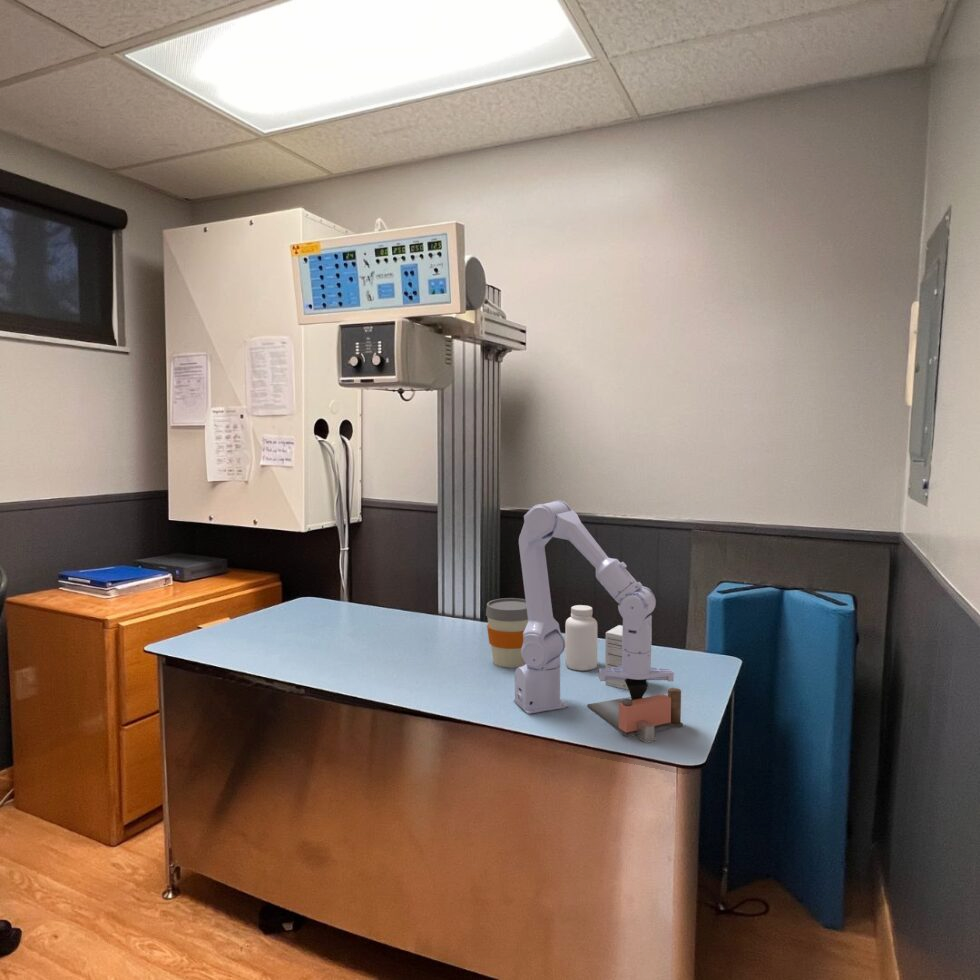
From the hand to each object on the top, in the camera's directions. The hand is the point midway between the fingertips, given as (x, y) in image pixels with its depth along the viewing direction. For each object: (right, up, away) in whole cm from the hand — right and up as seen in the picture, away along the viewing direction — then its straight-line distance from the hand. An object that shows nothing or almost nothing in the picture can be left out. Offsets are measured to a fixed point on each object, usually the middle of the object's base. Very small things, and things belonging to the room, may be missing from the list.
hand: (635, 714), depth 139 cm
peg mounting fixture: (0, -2, +5) cm, 5 cm away
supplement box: (+2, 0, +22) cm, 23 cm away
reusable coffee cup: (-24, +1, +38) cm, 45 cm away
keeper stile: (+1, -3, -6) cm, 7 cm away
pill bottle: (-6, +1, +34) cm, 35 cm away
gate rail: (+1, -1, -3) cm, 3 cm away
